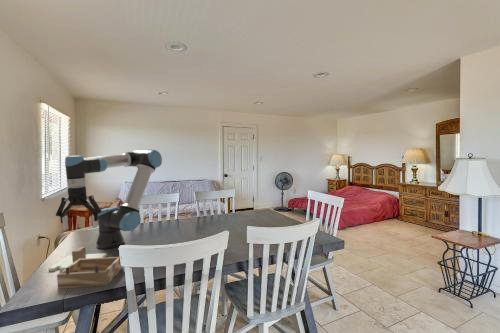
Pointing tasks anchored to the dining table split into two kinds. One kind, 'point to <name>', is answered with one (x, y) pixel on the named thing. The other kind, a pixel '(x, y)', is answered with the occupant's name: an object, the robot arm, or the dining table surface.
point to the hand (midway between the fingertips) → (80, 228)
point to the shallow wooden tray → (89, 272)
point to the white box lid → (75, 258)
